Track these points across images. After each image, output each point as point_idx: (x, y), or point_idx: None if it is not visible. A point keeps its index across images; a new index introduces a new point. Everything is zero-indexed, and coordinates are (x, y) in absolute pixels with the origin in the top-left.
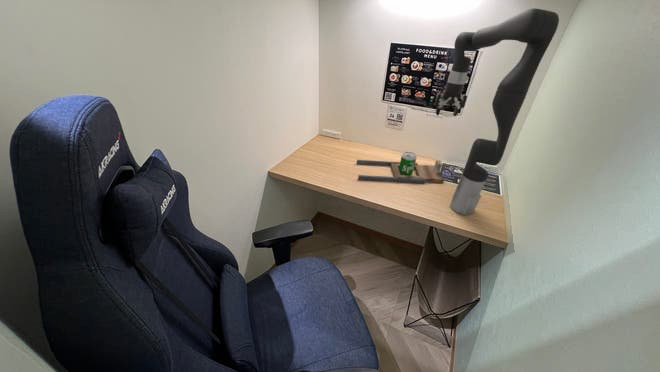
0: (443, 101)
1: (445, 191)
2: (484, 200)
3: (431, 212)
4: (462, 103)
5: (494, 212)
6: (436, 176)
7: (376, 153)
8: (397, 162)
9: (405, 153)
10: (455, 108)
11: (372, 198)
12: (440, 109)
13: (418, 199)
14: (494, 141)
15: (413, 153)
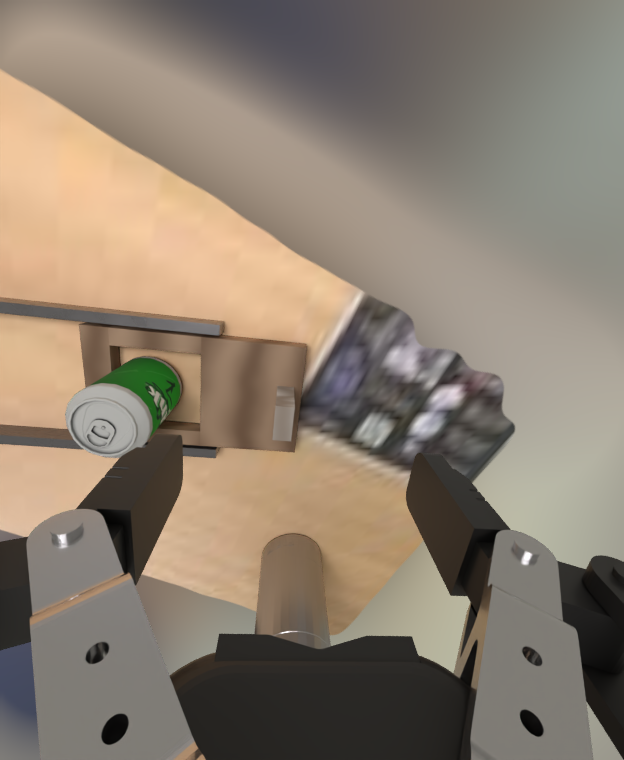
0: (131, 650)
1: (282, 487)
2: (386, 524)
3: (197, 572)
4: (621, 736)
5: (379, 566)
6: (272, 432)
7: (9, 158)
8: (113, 318)
9: (81, 411)
10: (464, 537)
11: (14, 525)
12: (145, 563)
13: (173, 525)
14: None
15: (128, 415)
